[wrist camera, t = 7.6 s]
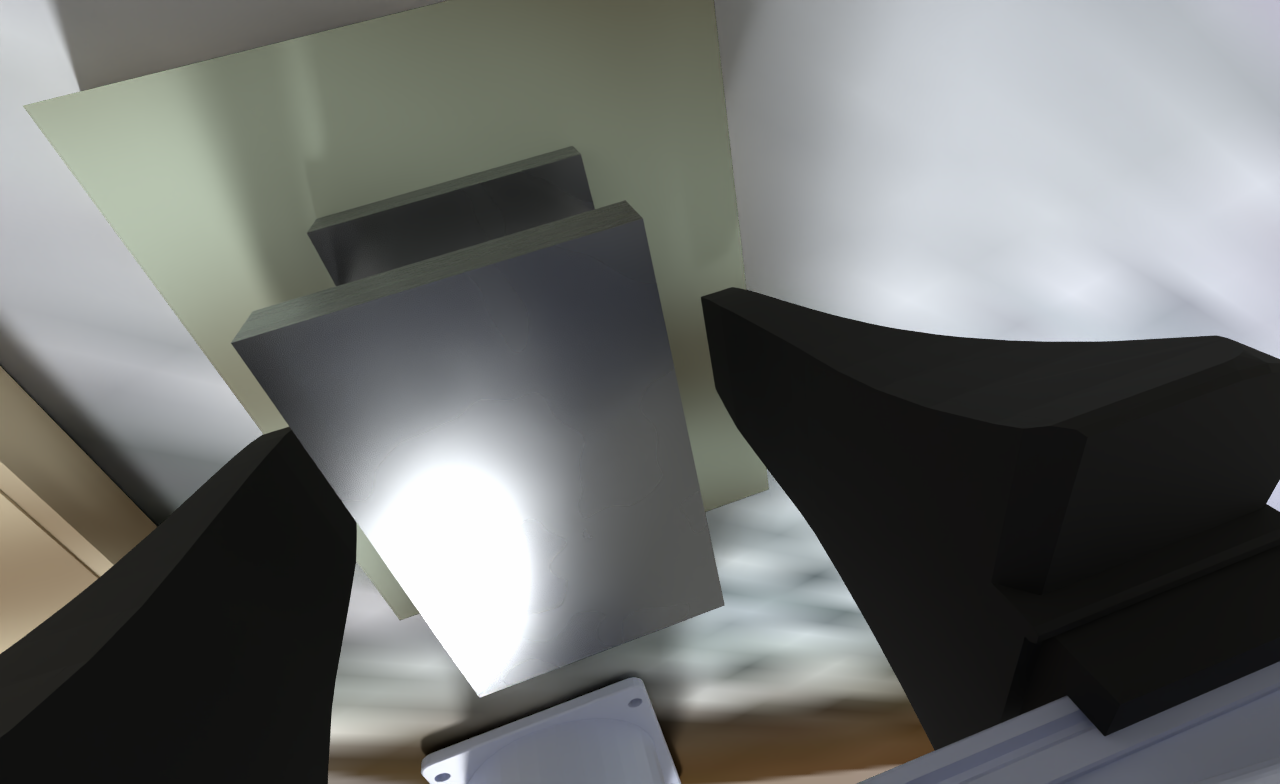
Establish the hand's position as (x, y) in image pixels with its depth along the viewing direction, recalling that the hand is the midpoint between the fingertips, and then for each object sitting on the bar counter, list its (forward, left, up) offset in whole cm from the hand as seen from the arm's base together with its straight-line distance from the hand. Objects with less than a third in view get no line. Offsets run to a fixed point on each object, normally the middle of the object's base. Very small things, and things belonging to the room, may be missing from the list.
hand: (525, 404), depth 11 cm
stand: (0, 0, -3) cm, 3 cm away
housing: (0, 0, -2) cm, 2 cm away
